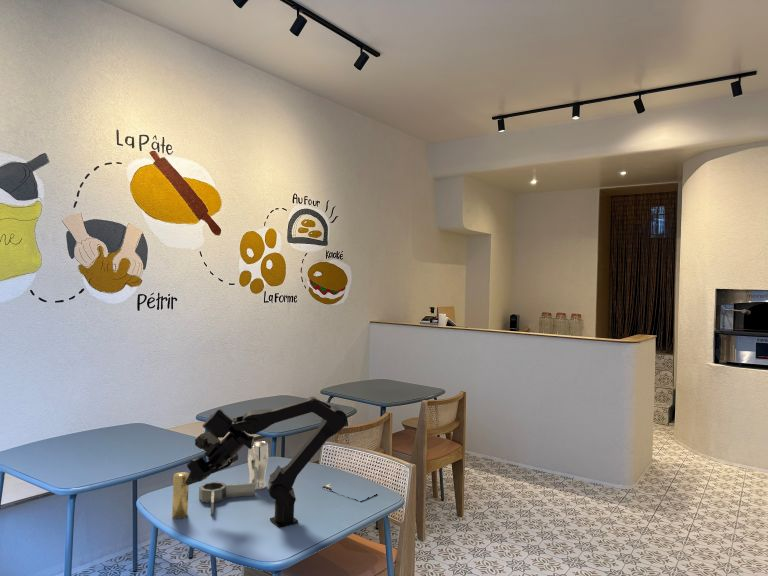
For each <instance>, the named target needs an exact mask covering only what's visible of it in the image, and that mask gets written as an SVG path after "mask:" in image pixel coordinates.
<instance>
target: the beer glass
mask: <svg viewBox="0 0 768 576" xmlns="http://www.w3.org/2000/svg"><path fill="white" fill-rule="evenodd" d="M268 461H269V443H268V442H266V441H257V440H256V441H254V444H253V446H252V448H251V449H249V448H248V452H247V464H248V472H249V473H248V474H249V481H248V483H255V491H257V490H263V489H265V488H266V487H267V484H266V473H267V472H266V471H267V466H268Z"/></svg>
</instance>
